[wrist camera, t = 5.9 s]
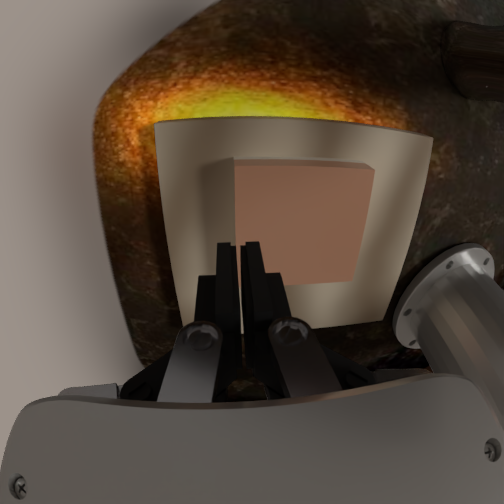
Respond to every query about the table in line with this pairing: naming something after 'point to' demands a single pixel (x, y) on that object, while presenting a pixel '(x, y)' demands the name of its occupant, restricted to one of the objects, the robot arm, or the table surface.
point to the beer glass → (475, 59)
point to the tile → (302, 214)
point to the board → (289, 145)
